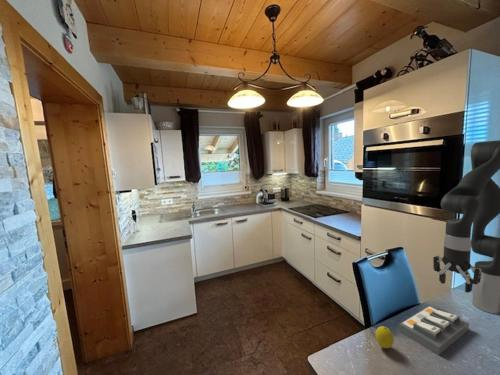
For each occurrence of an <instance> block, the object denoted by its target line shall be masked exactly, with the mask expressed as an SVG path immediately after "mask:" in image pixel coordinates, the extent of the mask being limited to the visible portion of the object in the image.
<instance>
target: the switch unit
mask: <svg viewBox="0 0 500 375" xmlns="http://www.w3.org/2000/svg"><path fill="white" fill-rule="evenodd" d="M438 310H440V311H443V312H447V313H450V314H453V315H456V314H455V313H453V312H450V311H448V310H446V309H444V308H441V307H435V306H433V305H430V304H429V305H428V306H426V307H425V308H422V309H421V310H419V311H418V312H417V313H415V314H412V315H411V316H410V317H408V318H406V319H404V321H401V322H400V323H398V332H399V333H401V334H403V335H405V336H406V337H408V338H409V339H411V338H412V340H413V341H414V340H415V342H416V341H417V342H416V343H417V344H419V343H420V344H419V345H421V346H422V347H424V348H426V349H427V348H428V349H427V350H430V352H433V353H434V354H436V355H437V356H440V355H441V354H442V353H443V352H444V351H446V350H448V348H450V347H451V346H452V345H453V344H454V343H455V342H457V340H459V339H461V337H463V336H464V334H466V333H468V332H469V328H470V322H469V321H465V320H464V319H461V316H459V315H457V319H456V320H454V321H452V320H450V319H448V318H446V317H444V316H442V315H440V314H438V313H435V312H437V311H438ZM429 316H433V317H436V318H439V319H442V320H445V321H448V322H449V325H448V326H446V327H443V326H441V325H439V324H437V323H435V322H433V321H431V320H429V319H427V318H428V317H429ZM420 322H424V323H426V324H429V325H432V326H435V327H438V328H440V332H438V333H437V334H436V335H435V334H434V333H432V332H430V331H428V330H426V329H424V328H423V327H421V326H419V325H417V324H418V323H420ZM451 344H452V345H451Z"/></svg>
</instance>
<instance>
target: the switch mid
mask: <svg viewBox="0 0 500 375" xmlns="http://www.w3.org/2000/svg"><path fill="white" fill-rule="evenodd" d="M427 319H429V320H431V321H433V322H435V323H437V324H439V325H441V326H443V327H446V326H448V325H449V322H448V321H445V320H442V319H439V318H436V317H433V316H429V317H428V318H427Z"/></svg>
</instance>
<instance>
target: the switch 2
mask: <svg viewBox="0 0 500 375" xmlns="http://www.w3.org/2000/svg"><path fill="white" fill-rule="evenodd" d="M435 313H438V314H440V315H442V316H444V317H446V318H448V319H450V320H452V321H454V320H456V319H457V316H458V315H457V314H455V315H453V314H454V313H453V314H450V313H451V312H450V313H447V312H443V311H440V310H438V311H437V312H435Z"/></svg>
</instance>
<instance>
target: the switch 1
mask: <svg viewBox="0 0 500 375" xmlns="http://www.w3.org/2000/svg"><path fill="white" fill-rule="evenodd" d="M417 325H419V326H421V327H423V328H424V329H426V330H428V331H430V332H432V333H434V334H435V335H436V334H437V333H438V332H440V328H438V327H435V326H432V325H429V324H426V323H424V322H420V323H418V324H417Z"/></svg>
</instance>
